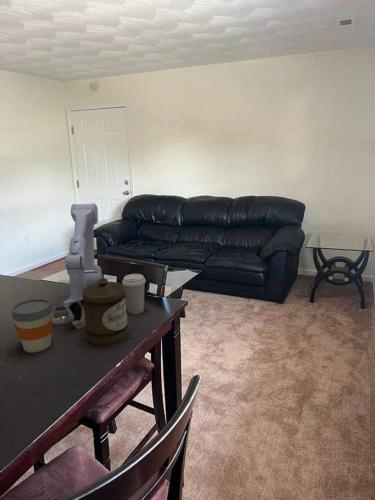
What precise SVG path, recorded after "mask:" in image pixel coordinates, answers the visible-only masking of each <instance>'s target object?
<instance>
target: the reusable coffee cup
mask: <svg viewBox="0 0 375 500" xmlns="http://www.w3.org/2000/svg"><path fill="white" fill-rule="evenodd" d="M51 312H53V307H52V305H51V302H50V301H49V300H47V299H46V298H45V299H44V298H36V299H35V298H33V299H28V300H24V301H21V302H19V303H16V304H14V305H13V307H12V308H11V318H12V320H13V321H14V329H15V331H16V334H17V337H18V339H20V342H21V344H22V348H23V350H24V351H25V352H27V353H38V352H42V351H44V350H47V349H48V348H49V347H50V346H51V345H52V332H53V325H52V316H51Z"/></svg>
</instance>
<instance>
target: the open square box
mask: <svg viewBox="0 0 375 500" xmlns="http://www.w3.org/2000/svg"><path fill="white" fill-rule="evenodd" d="M52 312H53V318H54V317H60V319H63V316H67V315H69V308H66V307H64V305H63V304H62V305H57V306H53V307H52Z"/></svg>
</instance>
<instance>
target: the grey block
mask: <svg viewBox="0 0 375 500" xmlns="http://www.w3.org/2000/svg"><path fill="white" fill-rule="evenodd" d="M78 304H79V303H78ZM79 305H81V308H80V320H79V321H77V320H76V321H77V324H83V325H85V314H84V305H83V304H81V303H80V304H79Z"/></svg>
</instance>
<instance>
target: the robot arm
mask: <svg viewBox="0 0 375 500" xmlns="http://www.w3.org/2000/svg"><path fill="white" fill-rule="evenodd" d="M70 216H71V218H72V221H73V222H74V232H73V233H74V236H72V237H71V238H70V242H69V249H68V250H69V251H68V254H67V255H66V256H65V258H64V259H65V260H64V264H65V265H64V266H65V269H66V273H67V275H68V276H69V277H68V278H69V285H70V295H69V297H68V298H67V299H66V300H65V301H63V302H62V306H63V305H64V307H66V308H69V309H70V310H71V312H72V314H73V316H74V318H75V320H74V321H79V320H80V308H81V305H79V302H80V304H83V305H84V302H83V289H84V288H85V287H87V286H89V285H91V284H94V283H98V280H99V279H100V278H103V273H102V268H101V267H100V266H99V265H97V264H96V263H95V233H94V229H95V225H97V224H98V223H99V211H98V206H97V204H96V203H79V204H77V203H76V204H75V203H74V204H72V205H71V207H70Z"/></svg>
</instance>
